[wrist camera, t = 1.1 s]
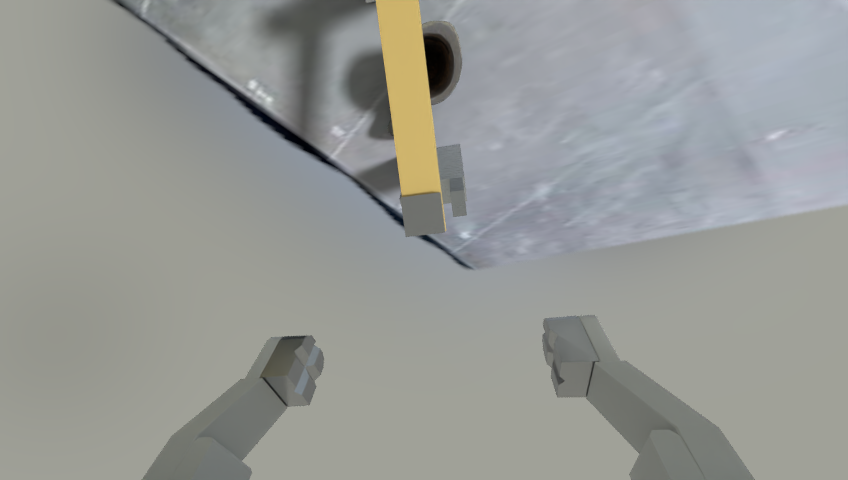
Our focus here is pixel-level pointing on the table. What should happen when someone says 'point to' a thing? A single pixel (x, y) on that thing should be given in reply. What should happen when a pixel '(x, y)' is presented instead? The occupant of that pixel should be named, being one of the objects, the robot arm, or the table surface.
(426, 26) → the pipe
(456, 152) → the stop block
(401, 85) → the yellow bar
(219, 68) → the table surface
